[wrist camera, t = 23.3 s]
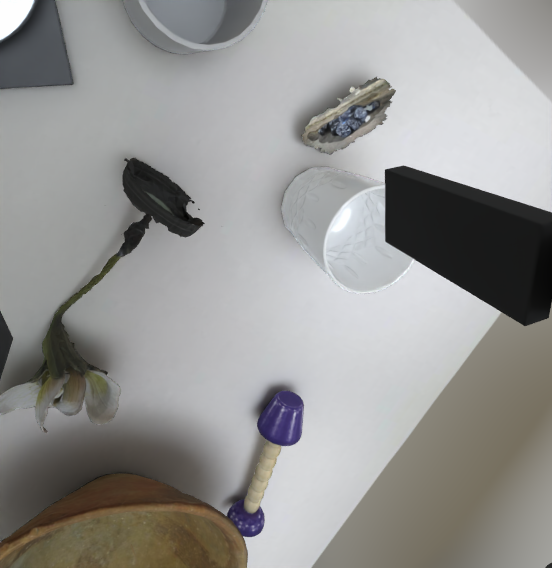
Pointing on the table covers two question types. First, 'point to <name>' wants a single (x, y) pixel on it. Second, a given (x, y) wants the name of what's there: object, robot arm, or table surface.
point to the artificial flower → (56, 345)
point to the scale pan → (14, 16)
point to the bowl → (126, 530)
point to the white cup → (344, 228)
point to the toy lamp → (268, 457)
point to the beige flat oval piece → (350, 117)
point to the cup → (194, 22)
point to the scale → (36, 52)
